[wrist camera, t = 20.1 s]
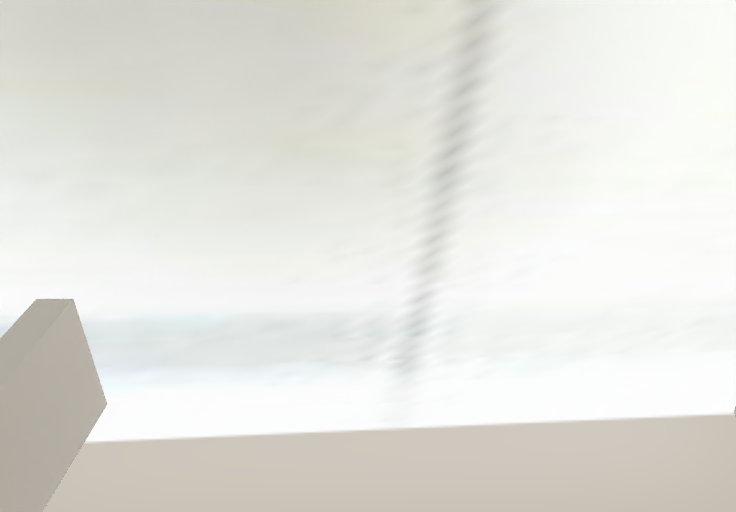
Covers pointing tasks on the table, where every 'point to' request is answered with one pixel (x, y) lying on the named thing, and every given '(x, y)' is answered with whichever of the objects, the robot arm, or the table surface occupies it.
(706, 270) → the table surface
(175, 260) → the table surface
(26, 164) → the table surface
